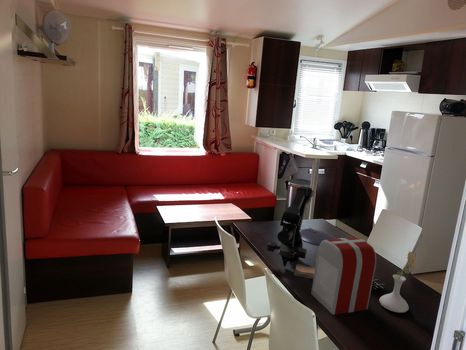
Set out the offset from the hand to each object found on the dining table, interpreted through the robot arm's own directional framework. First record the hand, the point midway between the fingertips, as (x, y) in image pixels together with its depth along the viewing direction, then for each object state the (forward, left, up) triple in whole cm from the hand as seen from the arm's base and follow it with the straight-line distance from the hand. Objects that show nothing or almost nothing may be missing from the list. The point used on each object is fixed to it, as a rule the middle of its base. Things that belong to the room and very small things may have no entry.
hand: (284, 266), depth 181 cm
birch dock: (+17, 0, -1) cm, 17 cm away
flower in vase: (+49, -13, -1) cm, 51 cm away
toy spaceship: (+10, +51, -2) cm, 52 cm away
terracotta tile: (+11, 0, -2) cm, 12 cm away
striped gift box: (+26, -19, -1) cm, 33 cm away
